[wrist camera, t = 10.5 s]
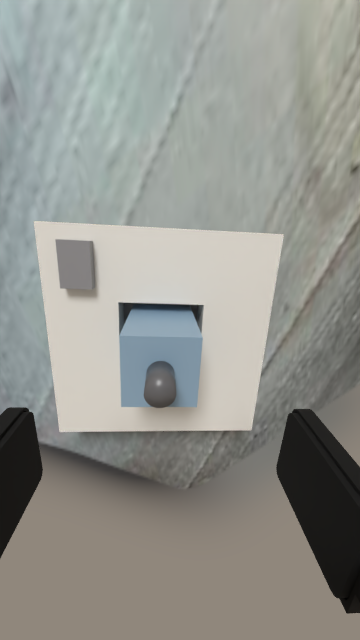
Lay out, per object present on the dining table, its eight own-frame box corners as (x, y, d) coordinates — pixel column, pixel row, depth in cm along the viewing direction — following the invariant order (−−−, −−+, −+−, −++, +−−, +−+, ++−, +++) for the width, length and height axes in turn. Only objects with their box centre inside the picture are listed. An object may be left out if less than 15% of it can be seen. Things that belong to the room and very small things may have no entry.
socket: (266, 235, 19) (289, 234, 16) (241, 407, 24) (254, 437, 21) (53, 223, 18) (27, 220, 15) (72, 408, 23) (55, 439, 19)
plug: (189, 305, 20) (209, 353, 12) (186, 355, 22) (201, 431, 13) (133, 303, 20) (111, 351, 11) (134, 354, 21) (114, 432, 13)
